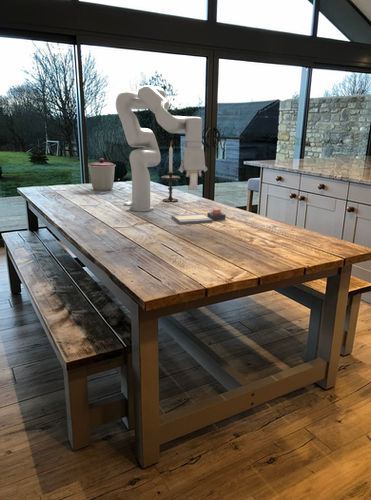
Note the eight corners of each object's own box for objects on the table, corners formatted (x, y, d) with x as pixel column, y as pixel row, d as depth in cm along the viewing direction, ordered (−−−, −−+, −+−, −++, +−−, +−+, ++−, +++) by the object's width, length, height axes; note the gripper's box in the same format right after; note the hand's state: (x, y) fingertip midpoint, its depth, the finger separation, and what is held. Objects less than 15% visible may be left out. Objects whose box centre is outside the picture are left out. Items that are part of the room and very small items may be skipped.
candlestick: (176, 199, 250) (177, 139, 239) (181, 202, 240) (182, 140, 229) (159, 199, 246) (159, 139, 236) (164, 203, 236) (164, 140, 226)
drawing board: (180, 224, 189) (180, 221, 189) (171, 217, 202) (171, 215, 201) (212, 222, 194) (212, 219, 194) (201, 215, 207) (201, 213, 206)
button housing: (212, 220, 198) (212, 215, 197) (207, 217, 204) (207, 212, 203) (225, 219, 200) (225, 214, 199) (219, 216, 206) (220, 211, 206)
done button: (214, 216, 199) (214, 210, 198) (211, 214, 203) (211, 208, 202) (221, 216, 201) (222, 210, 200) (218, 214, 204) (218, 208, 203)
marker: (189, 190, 191) (190, 166, 187) (186, 188, 195) (186, 165, 192) (198, 190, 192) (199, 166, 189) (195, 188, 196) (196, 165, 193)
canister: (90, 187, 284) (89, 156, 278) (117, 187, 286) (116, 157, 280) (87, 192, 267) (85, 159, 261) (115, 192, 269) (114, 159, 263)
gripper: (178, 145, 181) (178, 186, 187) (213, 145, 187) (212, 185, 192) (173, 144, 188) (173, 184, 194) (207, 144, 193) (206, 183, 199)
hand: (192, 184), depth 193 cm, fingers closed on marker, 4 cm apart
